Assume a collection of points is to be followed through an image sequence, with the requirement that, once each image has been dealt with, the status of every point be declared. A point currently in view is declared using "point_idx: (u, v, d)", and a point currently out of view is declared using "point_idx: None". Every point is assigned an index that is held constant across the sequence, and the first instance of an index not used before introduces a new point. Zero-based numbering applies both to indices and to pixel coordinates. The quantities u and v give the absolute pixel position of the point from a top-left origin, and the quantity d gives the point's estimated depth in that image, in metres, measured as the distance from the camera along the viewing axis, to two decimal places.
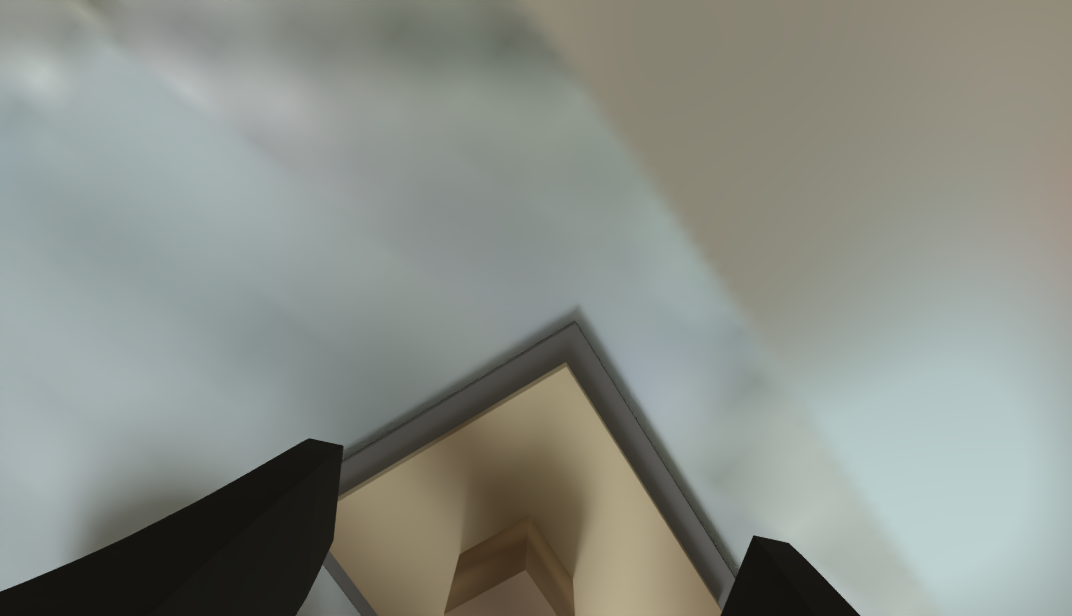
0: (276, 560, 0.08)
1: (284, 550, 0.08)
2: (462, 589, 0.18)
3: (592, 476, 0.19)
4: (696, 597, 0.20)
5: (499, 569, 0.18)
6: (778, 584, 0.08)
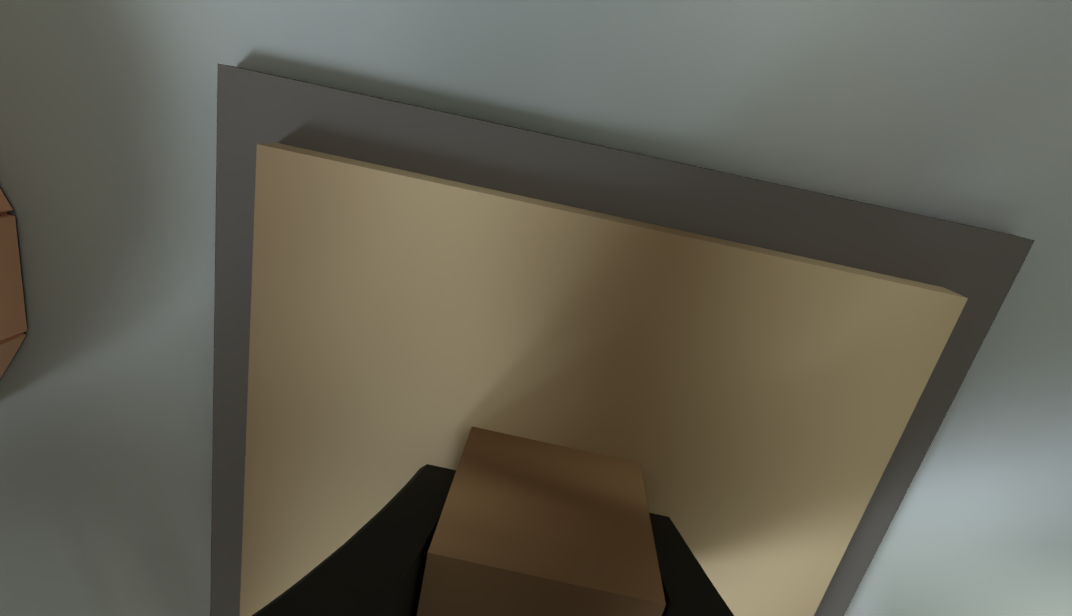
0: (420, 592, 0.08)
1: None
2: (482, 520, 0.08)
3: (792, 491, 0.10)
4: None
5: (582, 542, 0.08)
6: None
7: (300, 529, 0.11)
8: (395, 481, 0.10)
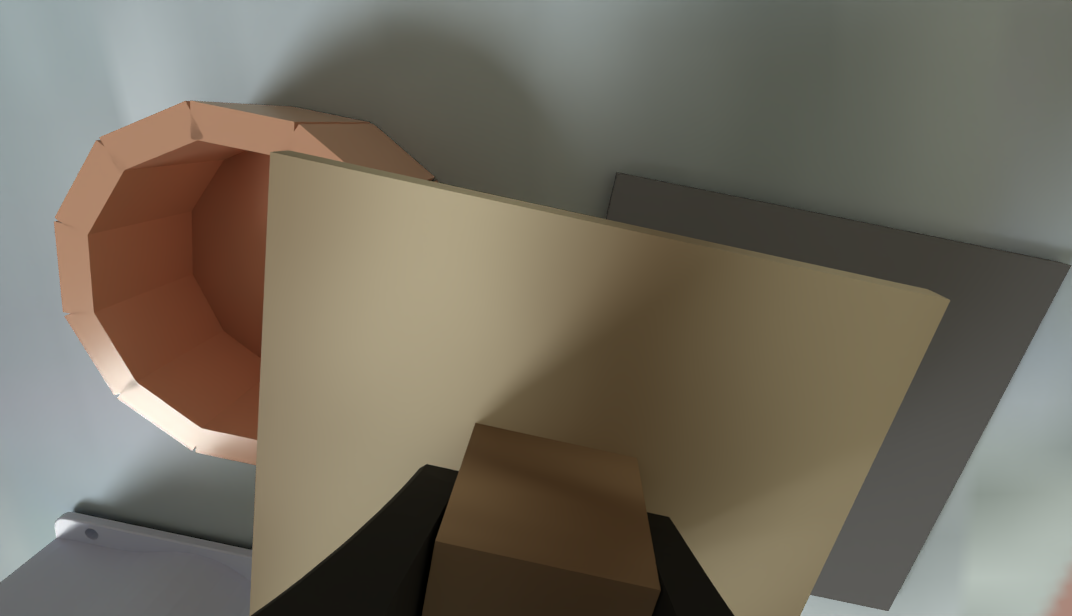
0: (419, 591, 0.08)
1: (424, 581, 0.08)
2: (486, 511, 0.08)
3: (784, 485, 0.10)
4: None
5: (582, 531, 0.08)
6: None
7: (309, 522, 0.11)
8: (401, 475, 0.10)
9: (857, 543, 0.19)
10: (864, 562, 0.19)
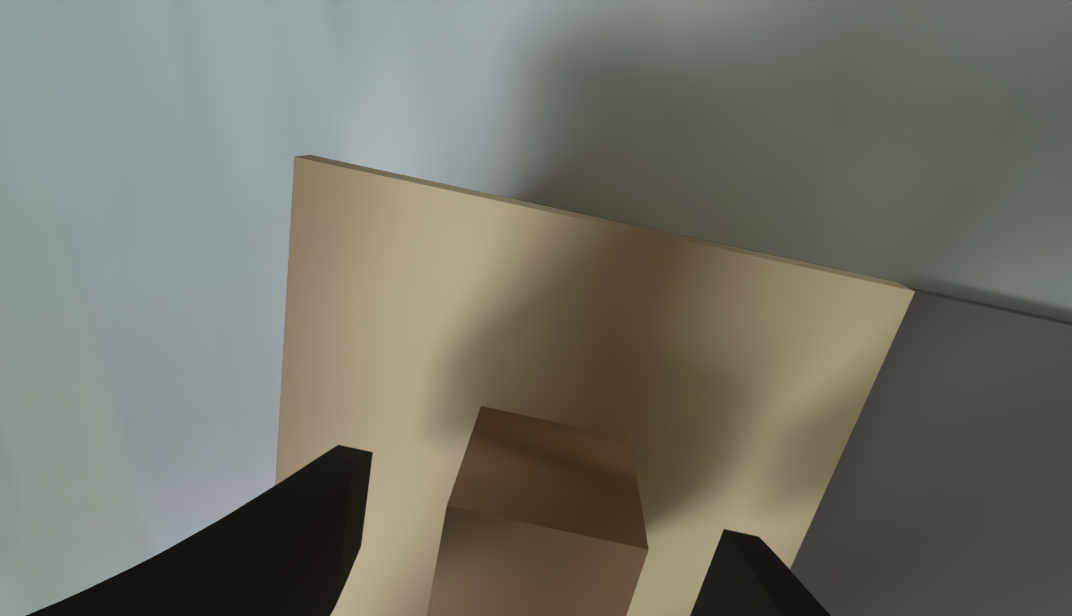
0: (312, 567, 0.08)
1: (319, 558, 0.08)
2: (492, 481, 0.09)
3: (766, 463, 0.11)
4: None
5: (578, 499, 0.09)
6: (745, 577, 0.08)
7: None
8: (412, 455, 0.11)
9: None
10: None
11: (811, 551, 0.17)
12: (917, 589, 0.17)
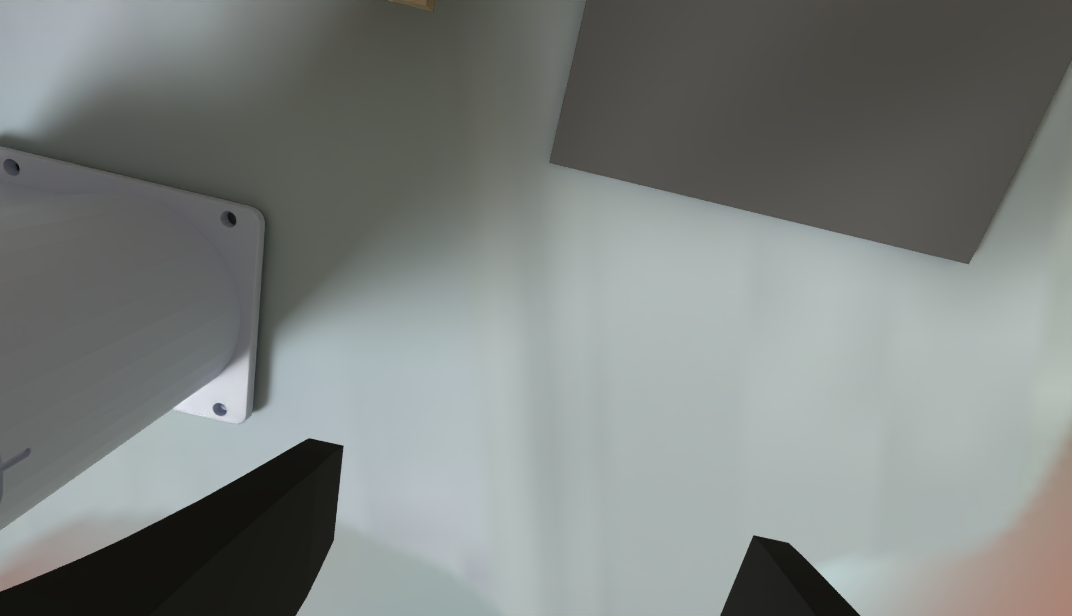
0: (275, 559, 0.08)
1: (284, 550, 0.08)
2: None
3: None
4: None
5: None
6: (778, 584, 0.08)
7: None
8: None
9: (940, 164, 0.16)
10: (946, 191, 0.16)
11: None
12: (725, 50, 0.15)
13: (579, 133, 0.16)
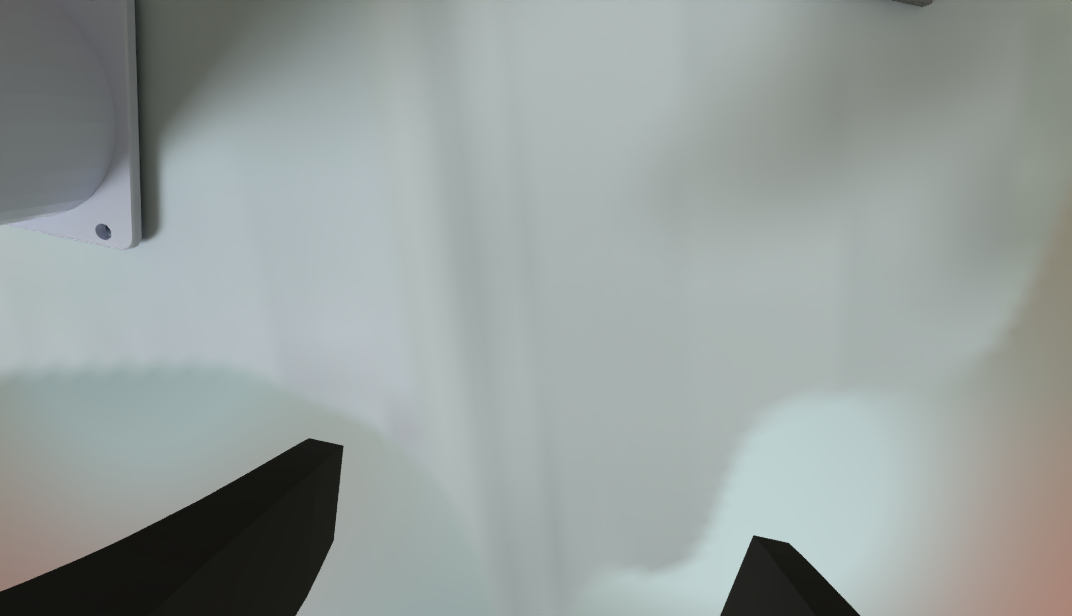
0: (275, 560, 0.08)
1: (284, 550, 0.08)
2: None
3: None
4: None
5: None
6: (778, 584, 0.08)
7: None
8: None
9: None
10: None
11: None
12: None
13: None
